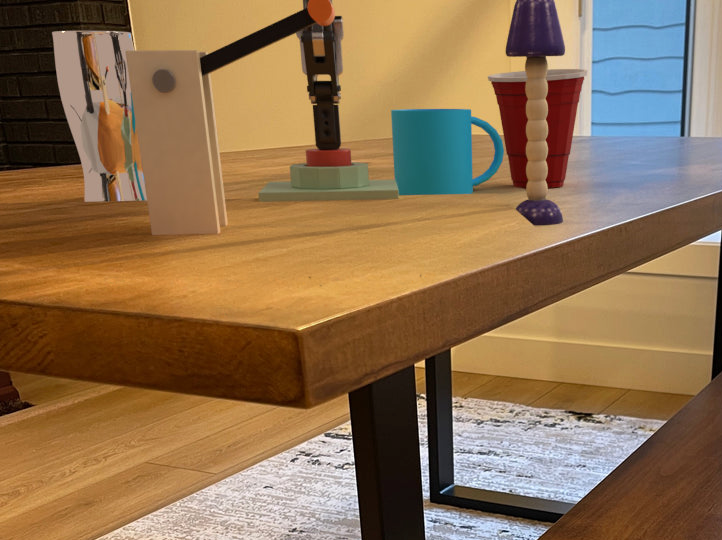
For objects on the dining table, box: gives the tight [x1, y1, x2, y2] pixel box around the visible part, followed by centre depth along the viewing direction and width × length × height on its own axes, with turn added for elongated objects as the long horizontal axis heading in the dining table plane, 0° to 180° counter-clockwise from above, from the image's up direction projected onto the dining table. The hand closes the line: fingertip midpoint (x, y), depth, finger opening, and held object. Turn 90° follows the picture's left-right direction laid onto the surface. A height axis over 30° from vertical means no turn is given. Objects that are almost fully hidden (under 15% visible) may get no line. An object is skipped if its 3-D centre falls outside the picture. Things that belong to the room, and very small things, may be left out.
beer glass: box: [51, 30, 147, 203], centre depth 91 cm, size 7×7×15 cm
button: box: [305, 147, 352, 167], centre depth 90 cm, size 4×4×2 cm
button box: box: [257, 161, 400, 203], centre depth 91 cm, size 12×10×4 cm
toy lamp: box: [505, 0, 566, 226], centre depth 80 cm, size 5×5×17 cm
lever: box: [200, 0, 336, 77], centre depth 66 cm, size 13×6×2 cm, turn 97°
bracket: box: [125, 49, 229, 236], centre depth 68 cm, size 11×9×13 cm
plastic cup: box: [487, 68, 588, 189], centre depth 109 cm, size 11×11×12 cm
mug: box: [390, 108, 505, 196], centre depth 104 cm, size 12×8×8 cm
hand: (328, 148), depth 90 cm, fingers closed
